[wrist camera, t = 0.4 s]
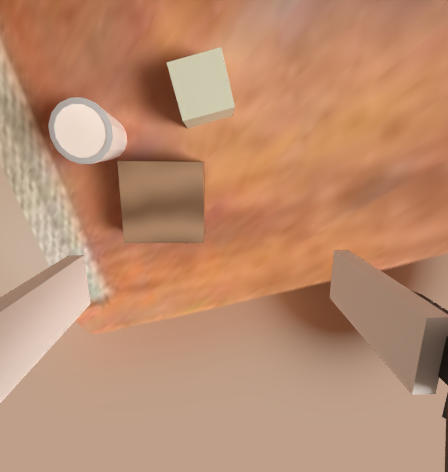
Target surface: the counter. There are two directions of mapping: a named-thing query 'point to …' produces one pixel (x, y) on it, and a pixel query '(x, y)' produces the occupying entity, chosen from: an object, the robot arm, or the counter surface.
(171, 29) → the counter surface
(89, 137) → the shot glass
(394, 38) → the counter surface
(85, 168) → the counter surface
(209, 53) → the sage block
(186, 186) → the walnut block
